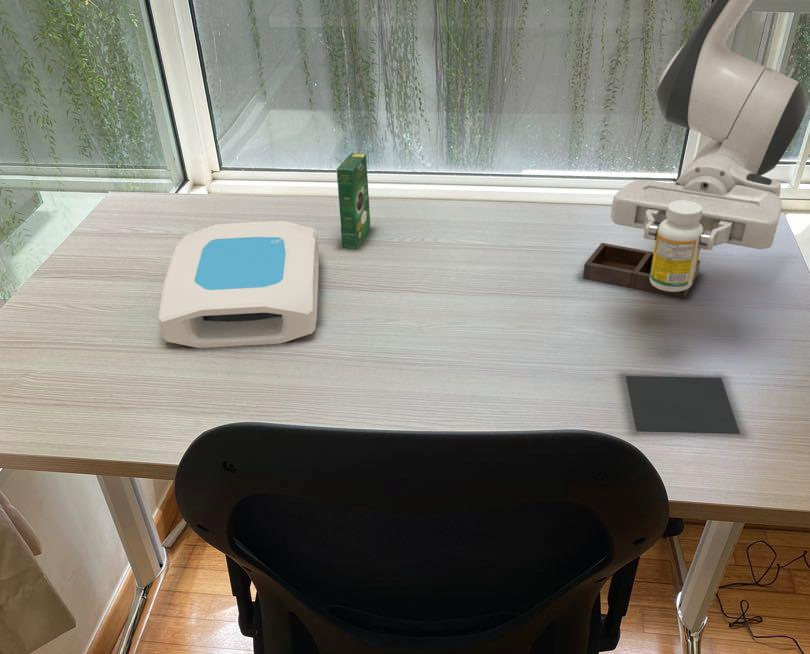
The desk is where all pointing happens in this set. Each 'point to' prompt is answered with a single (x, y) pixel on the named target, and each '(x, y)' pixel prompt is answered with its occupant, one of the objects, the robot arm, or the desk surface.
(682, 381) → the mat
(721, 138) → the robot arm
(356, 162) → the coffee box
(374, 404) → the desk surface
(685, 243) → the supplement bottle
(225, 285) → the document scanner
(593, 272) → the jar stand
